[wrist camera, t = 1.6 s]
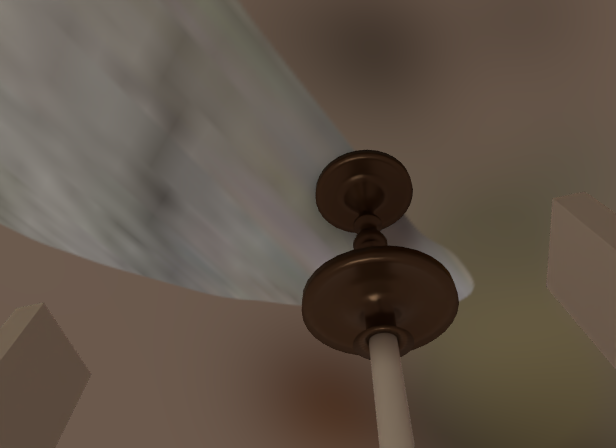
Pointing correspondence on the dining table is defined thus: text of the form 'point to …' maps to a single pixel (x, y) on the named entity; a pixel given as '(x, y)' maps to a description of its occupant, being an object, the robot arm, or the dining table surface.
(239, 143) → the dining table surface
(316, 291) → the candlestick
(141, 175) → the dining table surface
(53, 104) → the dining table surface
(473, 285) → the dining table surface
